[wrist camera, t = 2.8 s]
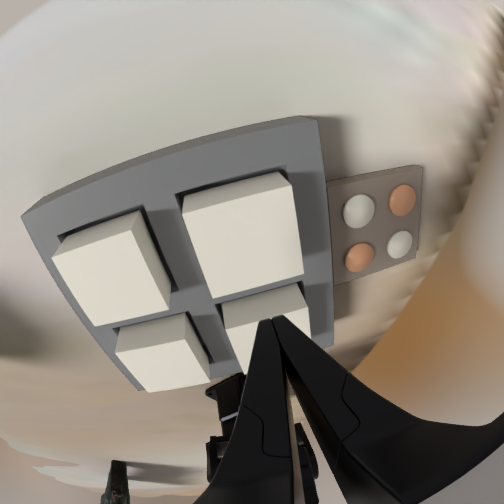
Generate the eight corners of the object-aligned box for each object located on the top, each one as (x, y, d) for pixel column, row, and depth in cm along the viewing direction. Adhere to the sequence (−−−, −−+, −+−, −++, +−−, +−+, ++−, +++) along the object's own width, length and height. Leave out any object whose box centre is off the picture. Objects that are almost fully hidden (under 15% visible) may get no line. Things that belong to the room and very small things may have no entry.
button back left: (208, 357, 21) (210, 382, 19) (150, 368, 21) (148, 392, 19) (185, 312, 18) (185, 339, 16) (120, 327, 18) (114, 353, 16)
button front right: (291, 250, 17) (304, 273, 15) (210, 272, 17) (212, 298, 15) (278, 171, 15) (291, 185, 12) (184, 196, 14) (181, 214, 12)
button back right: (302, 332, 21) (312, 355, 19) (239, 349, 21) (244, 374, 19) (296, 282, 19) (308, 306, 16) (221, 303, 18) (225, 329, 16)
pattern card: (409, 252, 23) (417, 259, 21) (329, 278, 22) (335, 288, 21) (414, 164, 18) (425, 169, 17) (321, 183, 18) (329, 189, 17)
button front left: (171, 283, 17) (168, 309, 15) (103, 301, 17) (94, 326, 15) (140, 209, 14) (130, 229, 12) (67, 236, 14) (51, 258, 12)
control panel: (321, 320, 25) (333, 344, 22) (141, 364, 24) (138, 390, 22) (298, 115, 16) (317, 120, 13) (41, 198, 15) (20, 216, 12)
